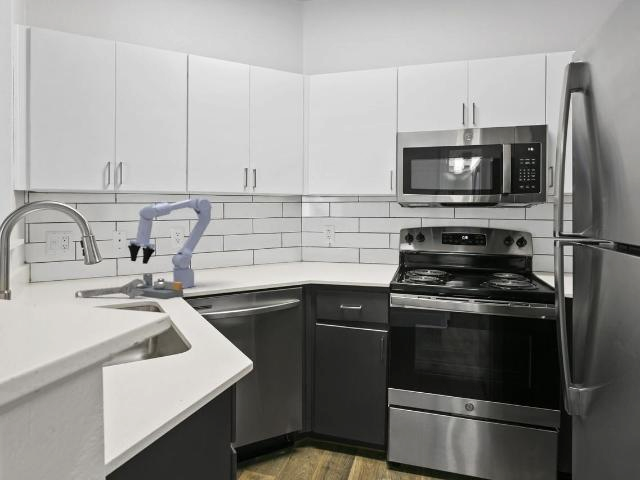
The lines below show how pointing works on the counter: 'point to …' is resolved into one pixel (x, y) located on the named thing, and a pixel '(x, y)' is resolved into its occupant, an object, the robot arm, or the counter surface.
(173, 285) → the silver elongated block
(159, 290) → the pin board
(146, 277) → the steel pin
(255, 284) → the counter surface
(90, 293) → the wrench
